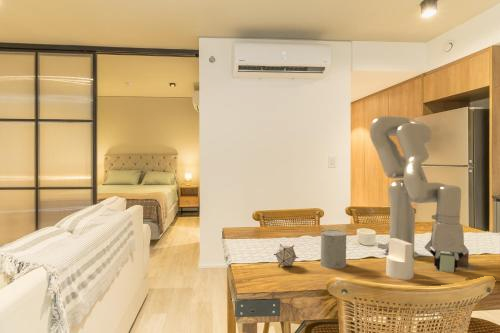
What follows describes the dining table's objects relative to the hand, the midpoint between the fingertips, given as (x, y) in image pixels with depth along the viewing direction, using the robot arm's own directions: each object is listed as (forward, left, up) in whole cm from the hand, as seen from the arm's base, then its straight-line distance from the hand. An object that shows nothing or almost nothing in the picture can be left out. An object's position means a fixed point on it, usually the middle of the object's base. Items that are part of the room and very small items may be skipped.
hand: (445, 268), depth 130 cm
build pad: (+6, +8, -1) cm, 10 cm away
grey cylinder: (-40, -4, -1) cm, 40 cm away
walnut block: (+6, +8, 0) cm, 10 cm away
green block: (0, 0, -1) cm, 1 cm away
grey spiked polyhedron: (-57, -11, -1) cm, 58 cm away
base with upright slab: (-17, -9, -1) cm, 19 cm away
